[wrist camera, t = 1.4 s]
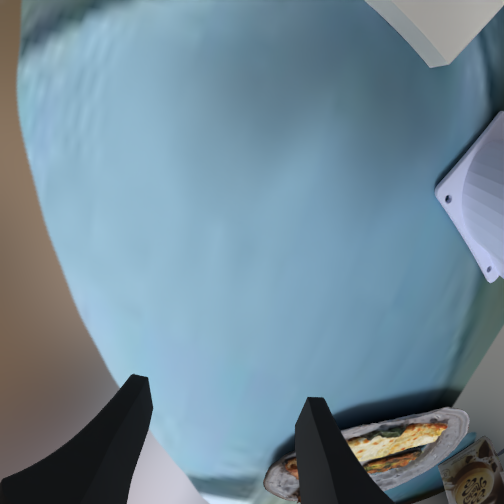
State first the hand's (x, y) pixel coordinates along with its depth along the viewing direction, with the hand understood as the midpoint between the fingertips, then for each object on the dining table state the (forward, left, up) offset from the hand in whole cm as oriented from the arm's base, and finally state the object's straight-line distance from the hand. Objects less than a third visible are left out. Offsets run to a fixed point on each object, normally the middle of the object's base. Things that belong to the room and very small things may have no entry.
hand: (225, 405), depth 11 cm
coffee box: (-48, +2, -9) cm, 49 cm away
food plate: (-27, +9, -9) cm, 30 cm away
